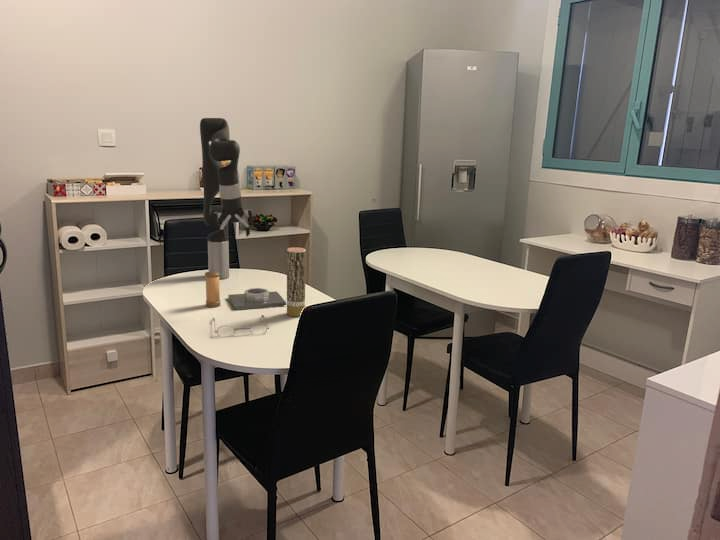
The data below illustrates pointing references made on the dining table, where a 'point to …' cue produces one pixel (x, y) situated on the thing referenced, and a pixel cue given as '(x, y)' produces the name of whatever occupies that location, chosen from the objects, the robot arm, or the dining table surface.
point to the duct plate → (256, 299)
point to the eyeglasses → (240, 328)
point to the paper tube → (295, 280)
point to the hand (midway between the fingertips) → (236, 237)
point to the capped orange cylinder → (212, 289)
